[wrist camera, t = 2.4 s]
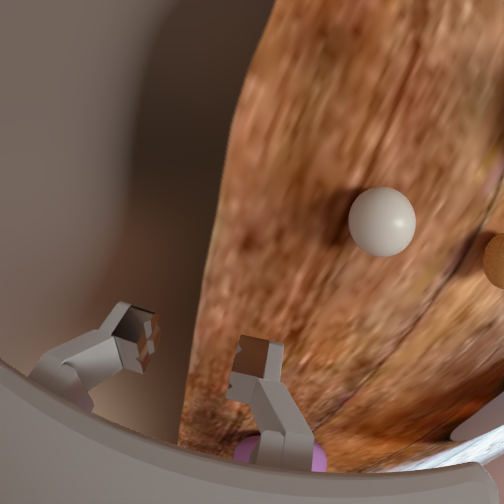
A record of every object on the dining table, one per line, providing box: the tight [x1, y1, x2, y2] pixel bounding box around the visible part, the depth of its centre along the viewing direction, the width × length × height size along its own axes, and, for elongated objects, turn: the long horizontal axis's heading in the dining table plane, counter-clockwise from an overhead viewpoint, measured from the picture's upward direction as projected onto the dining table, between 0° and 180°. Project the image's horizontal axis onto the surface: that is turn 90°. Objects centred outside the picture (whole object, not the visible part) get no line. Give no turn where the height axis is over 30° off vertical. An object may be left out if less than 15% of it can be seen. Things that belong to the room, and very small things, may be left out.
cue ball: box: [348, 187, 416, 257], centre depth 22 cm, size 6×6×6 cm
